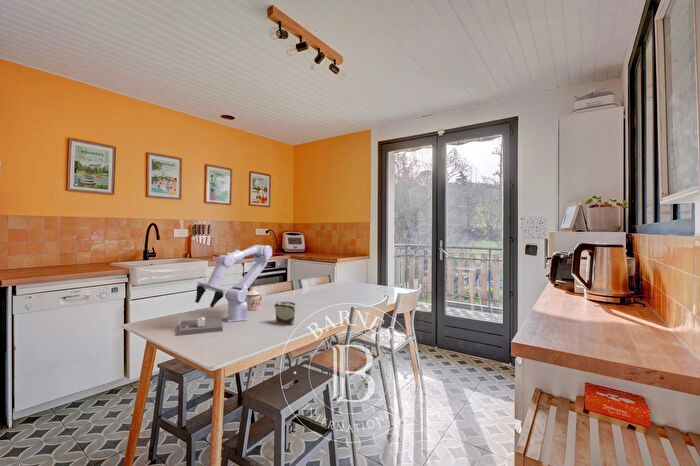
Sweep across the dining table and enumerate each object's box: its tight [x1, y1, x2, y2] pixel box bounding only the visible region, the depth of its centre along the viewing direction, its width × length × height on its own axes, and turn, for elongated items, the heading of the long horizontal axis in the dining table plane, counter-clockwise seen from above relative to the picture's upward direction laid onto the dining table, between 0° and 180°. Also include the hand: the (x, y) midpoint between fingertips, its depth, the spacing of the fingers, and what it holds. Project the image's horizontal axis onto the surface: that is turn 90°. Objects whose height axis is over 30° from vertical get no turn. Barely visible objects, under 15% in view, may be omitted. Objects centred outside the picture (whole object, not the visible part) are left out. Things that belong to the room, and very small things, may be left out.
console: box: [178, 317, 224, 336], centre depth 157 cm, size 18×16×2 cm
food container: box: [273, 301, 297, 326], centre depth 169 cm, size 12×6×10 cm, turn 65°
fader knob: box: [197, 315, 206, 327], centre depth 155 cm, size 3×4×4 cm
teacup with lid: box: [244, 288, 263, 311], centre depth 195 cm, size 12×9×12 cm
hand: (203, 304), depth 156 cm, fingers open, 7 cm apart
